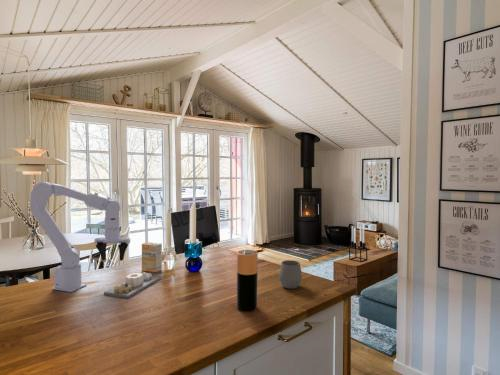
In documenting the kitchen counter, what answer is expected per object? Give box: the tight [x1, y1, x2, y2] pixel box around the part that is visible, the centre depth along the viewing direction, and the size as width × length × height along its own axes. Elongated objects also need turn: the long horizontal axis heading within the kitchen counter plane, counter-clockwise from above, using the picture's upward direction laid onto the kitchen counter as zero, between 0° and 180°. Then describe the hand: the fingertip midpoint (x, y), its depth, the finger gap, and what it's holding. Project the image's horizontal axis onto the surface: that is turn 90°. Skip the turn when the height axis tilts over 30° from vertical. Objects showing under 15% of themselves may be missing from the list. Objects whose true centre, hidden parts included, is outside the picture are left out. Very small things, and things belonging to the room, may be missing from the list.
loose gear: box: [125, 272, 143, 287], centre depth 133 cm, size 5×7×4 cm
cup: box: [278, 259, 303, 290], centre depth 134 cm, size 10×9×10 cm
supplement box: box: [141, 241, 163, 273], centre depth 153 cm, size 8×5×13 cm, turn 73°
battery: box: [236, 249, 259, 312], centre depth 113 cm, size 7×7×20 cm
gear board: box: [103, 271, 162, 299], centre depth 133 cm, size 11×22×4 cm, turn 163°
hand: (112, 259), depth 138 cm, fingers open, 7 cm apart
